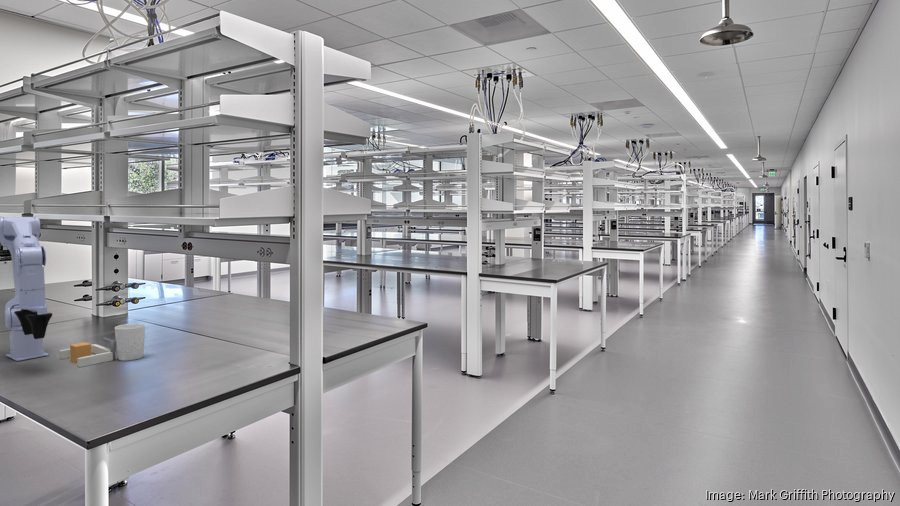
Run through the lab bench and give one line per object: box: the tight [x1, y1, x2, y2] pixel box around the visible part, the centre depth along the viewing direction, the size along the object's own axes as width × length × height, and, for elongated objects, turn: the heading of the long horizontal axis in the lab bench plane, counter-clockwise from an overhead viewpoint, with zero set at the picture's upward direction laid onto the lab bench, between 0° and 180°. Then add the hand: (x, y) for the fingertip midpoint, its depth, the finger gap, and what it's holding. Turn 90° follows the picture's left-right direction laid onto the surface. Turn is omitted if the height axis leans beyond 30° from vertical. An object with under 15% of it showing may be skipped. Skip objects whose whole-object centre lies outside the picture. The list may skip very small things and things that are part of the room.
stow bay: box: [58, 336, 117, 368], centre depth 153 cm, size 14×10×6 cm
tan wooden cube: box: [69, 341, 92, 364], centre depth 152 cm, size 4×4×5 cm
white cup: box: [114, 322, 146, 362], centre depth 155 cm, size 8×8×10 cm
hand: (34, 336), depth 143 cm, fingers open, 7 cm apart
